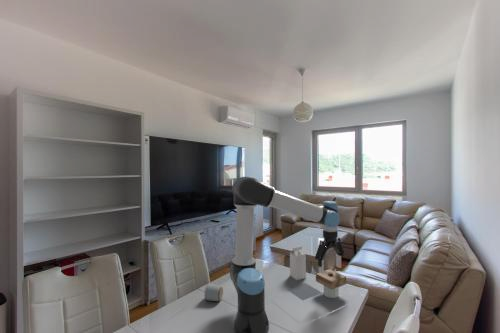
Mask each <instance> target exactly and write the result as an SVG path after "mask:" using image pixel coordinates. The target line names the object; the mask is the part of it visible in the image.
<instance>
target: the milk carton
mask: <svg viewBox="0 0 500 333" xmlns="http://www.w3.org/2000/svg"><path fill="white" fill-rule="evenodd" d="M306 258H307V257H306V252H305V250H304V249H303V246H297V247H293V248H292V250H291V251H290V252H289V276H290V277H291V278H293V279H294V280H296V281H300V280H303V279H306V278H307V259H306Z"/></svg>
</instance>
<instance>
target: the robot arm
mask: <svg viewBox="0 0 500 333" xmlns="http://www.w3.org/2000/svg"><path fill="white" fill-rule="evenodd" d="M231 187H232V189H231V191H232V194H233V205H234V207H235V208H236V214H235V215H236V217H235V218H236V222H235V252H234V253H235V254H234V257H233V258H232V259H231V266H230V269H229V277H230V280H231V282H232V284H233V286H234V288H235V291H236V293H237V312H236V314H235V317H234V318H235V319H234V321H233V330H234V333H268V332H269V330H270V322H269V319H268V315H267V313H266V309H265V306H266V305H265V303H266V302H265V297H266V296H265V295H266V294H265V287H266V286H265V285H266V282H265V275H264V274H263V272H262V271H260V270H259V269H256V268H257V267H256V264H257V261H256V258H254V229H255V228H254V227H255V225H254V222H255V208H256V207H257V206H262V207H264V208H268V207H271V208H274V209H277V210H278V211H279V210H280V211H283V212H286V213H288V214H290V215H294V216H297V217H299V218H302V219H303V220H304V221H309V222H310V221H311V222H315V223H316V224H319V225H322V229H323V230H322V237H323V240H321V239H320V240H319V242H318V248H317V251H316V254H315V255H314V256H315V257H314V259H315V260H317V266H318V273H319V272H320V273H322V274H323V273H324V271H325V270H324V267H325V266H324V262H325V260H324V258H325V256H326V254H327V252H328V251H329V250H330V249H332V248H333V250H334V251H335V253H336V255H335V260H336V261H335V262H336V263H335V266H336V268H339V269H342V257H344V254H345V250H344V247H343V244H342V242H341V237H338V233H339V232H338V230H339V229H338V225H339V224H340V222H341V217H340V215H339V213H338V211H339V207H338V203H337V202H336V201H333V200H325V201H323V202H322V205H317V204H314V203H311V202H308V201H306V200H303V199H300V198H298V197H295V196H292V195H289V194H286V193H285V192H281V191H279V190H276V189H275V187H274V186H271V185H269V184H267V183H265V182H263V181H261V180H259V179H257V178H256V177H255V178H254V177H250V176H242V177H239V178H237V179H236V180H235V181H234V182H233V184H232V186H231Z"/></svg>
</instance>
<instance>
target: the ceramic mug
mask: <svg viewBox="0 0 500 333" xmlns="http://www.w3.org/2000/svg"><path fill="white" fill-rule="evenodd" d="M223 294H224V288H223V286H221V285H217V284H211V283H207V284H206V287H205V290H204V301H205V300H206V301H213V302H220V301H221V300H222V298H223Z"/></svg>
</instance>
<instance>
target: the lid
mask: <svg viewBox="0 0 500 333" xmlns="http://www.w3.org/2000/svg"><path fill="white" fill-rule="evenodd" d="M315 282H317V283H319V284H321V285H323V287H324V286H326V287H328V288H330V289H335V288H337V287H339V288H341V287H343V286H345V285H347V276H346V275H345V274H341V273H339V272H337V271H335V270H332V269H330V268H329V269H326V270H324V273H323V274H322V273H320V272H319V271H318V272H317V273H315Z"/></svg>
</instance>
